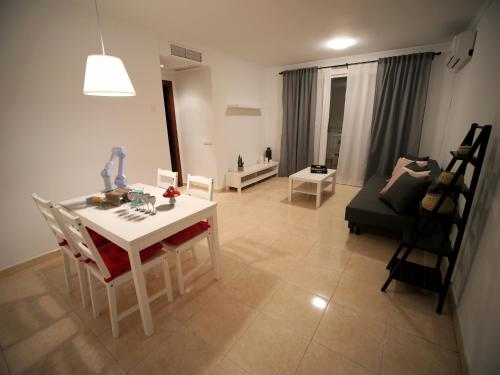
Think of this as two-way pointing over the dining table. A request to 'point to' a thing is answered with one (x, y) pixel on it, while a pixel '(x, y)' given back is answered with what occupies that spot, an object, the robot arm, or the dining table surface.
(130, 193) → the goblet set
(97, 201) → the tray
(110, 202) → the brown boxy piece
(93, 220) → the dining table surface
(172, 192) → the decorative mushroom
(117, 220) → the dining table surface
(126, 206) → the dining table surface
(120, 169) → the robot arm
